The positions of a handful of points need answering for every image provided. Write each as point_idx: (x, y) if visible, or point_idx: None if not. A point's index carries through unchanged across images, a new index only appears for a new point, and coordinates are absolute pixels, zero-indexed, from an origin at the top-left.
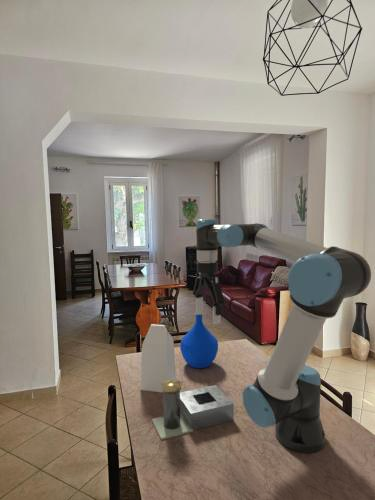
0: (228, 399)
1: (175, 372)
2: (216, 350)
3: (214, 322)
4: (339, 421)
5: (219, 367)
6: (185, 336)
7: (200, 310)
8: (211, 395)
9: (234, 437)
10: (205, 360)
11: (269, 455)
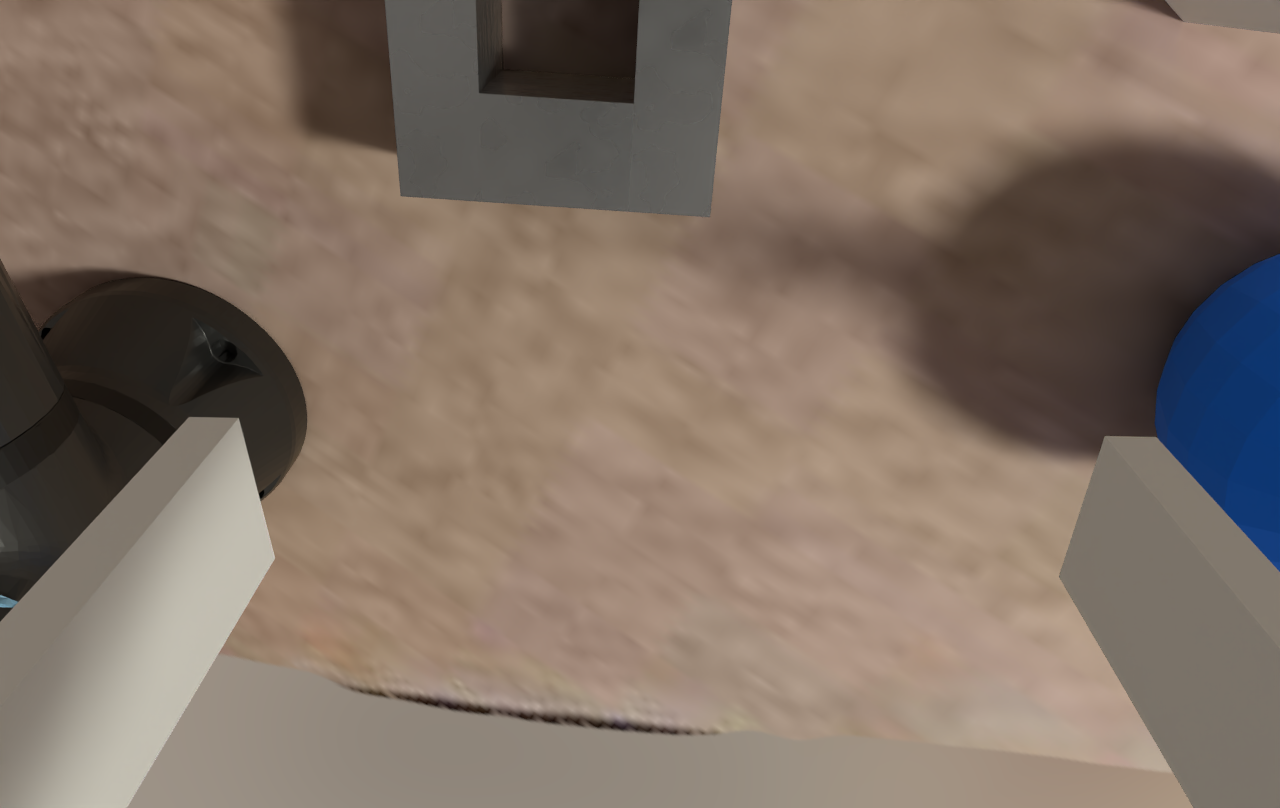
0: (465, 191)
1: (1224, 24)
2: None
3: (171, 454)
4: (255, 621)
5: (1099, 446)
6: None
7: (1120, 588)
8: (579, 99)
9: (258, 60)
10: (1172, 371)
11: (63, 159)
